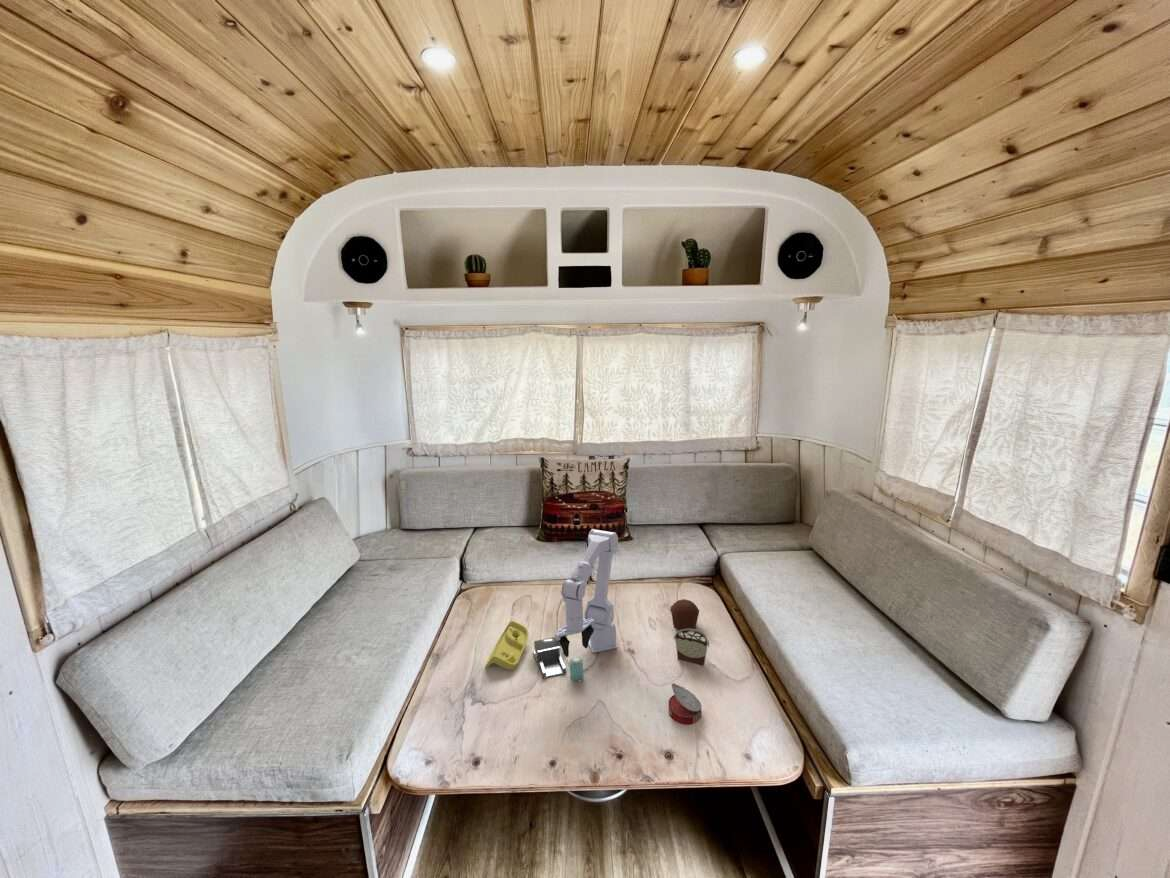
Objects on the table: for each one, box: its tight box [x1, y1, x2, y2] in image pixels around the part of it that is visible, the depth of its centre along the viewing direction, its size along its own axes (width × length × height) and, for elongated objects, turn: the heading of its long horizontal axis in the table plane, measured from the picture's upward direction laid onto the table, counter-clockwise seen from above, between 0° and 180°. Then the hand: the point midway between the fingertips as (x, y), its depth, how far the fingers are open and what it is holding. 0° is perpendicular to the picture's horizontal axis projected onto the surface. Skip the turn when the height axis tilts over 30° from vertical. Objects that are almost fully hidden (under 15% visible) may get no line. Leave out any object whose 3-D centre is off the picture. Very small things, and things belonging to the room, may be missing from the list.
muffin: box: [669, 598, 700, 631], centre depth 192 cm, size 12×11×10 cm
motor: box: [533, 636, 567, 679], centre depth 173 cm, size 10×15×6 cm
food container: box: [673, 628, 710, 667], centre depth 173 cm, size 12×6×10 cm, turn 65°
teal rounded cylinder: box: [569, 656, 584, 682], centre depth 165 cm, size 4×4×7 cm
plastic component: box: [485, 620, 530, 671], centre depth 179 cm, size 20×7×10 cm
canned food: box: [668, 682, 702, 726], centre depth 148 cm, size 11×10×10 cm
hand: (575, 651), depth 164 cm, fingers open, 7 cm apart
